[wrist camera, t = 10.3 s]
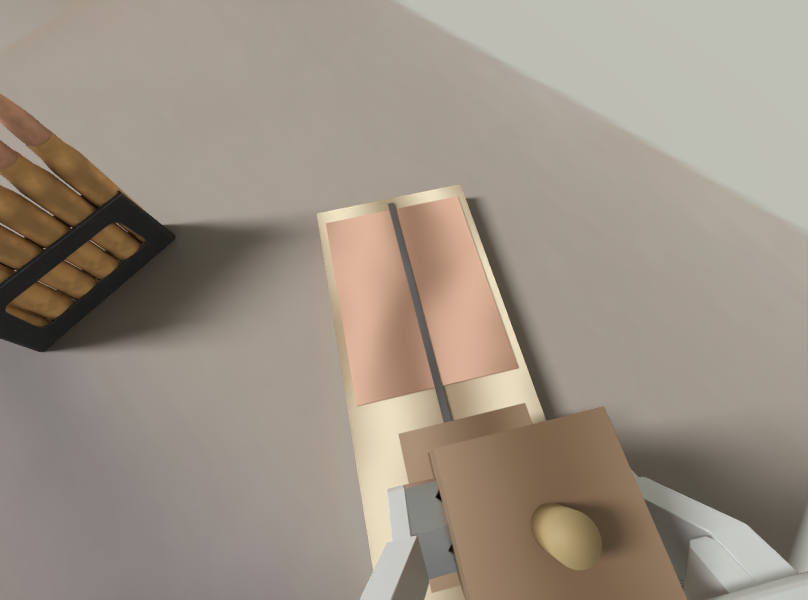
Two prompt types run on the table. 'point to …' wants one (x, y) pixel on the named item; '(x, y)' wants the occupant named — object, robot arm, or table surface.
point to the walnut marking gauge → (541, 509)
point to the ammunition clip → (62, 235)
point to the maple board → (415, 334)
